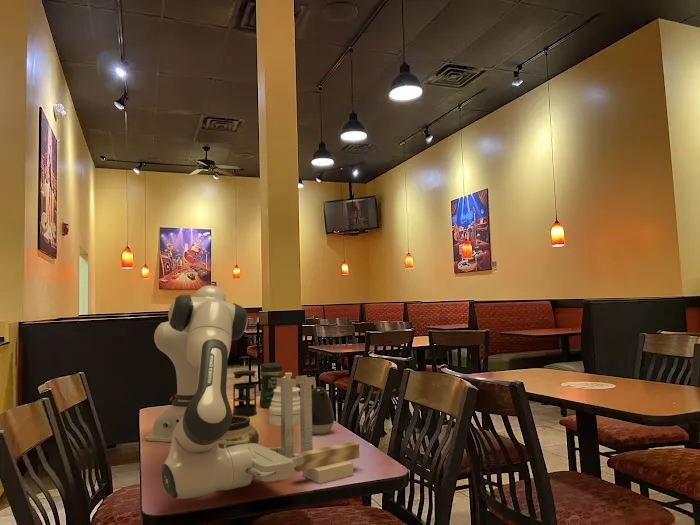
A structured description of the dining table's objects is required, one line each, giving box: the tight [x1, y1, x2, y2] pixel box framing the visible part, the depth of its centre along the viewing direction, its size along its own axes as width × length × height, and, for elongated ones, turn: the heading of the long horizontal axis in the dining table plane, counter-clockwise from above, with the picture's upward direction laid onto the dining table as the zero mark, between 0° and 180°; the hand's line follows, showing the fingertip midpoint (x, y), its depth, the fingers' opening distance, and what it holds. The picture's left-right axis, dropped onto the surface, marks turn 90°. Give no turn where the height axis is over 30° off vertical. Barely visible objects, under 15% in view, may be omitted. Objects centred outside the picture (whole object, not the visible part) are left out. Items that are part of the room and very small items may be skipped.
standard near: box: [277, 377, 297, 458], centre depth 141 cm, size 6×6×23 cm
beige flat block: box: [301, 460, 354, 485], centre depth 130 cm, size 10×8×3 cm
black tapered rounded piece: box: [311, 386, 335, 435], centre depth 174 cm, size 10×10×15 cm
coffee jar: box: [259, 362, 283, 409], centre depth 223 cm, size 10×8×19 cm
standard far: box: [295, 374, 316, 452], centre depth 144 cm, size 6×6×23 cm
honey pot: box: [268, 372, 300, 427], centre depth 193 cm, size 13×13×18 cm
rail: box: [292, 441, 360, 472], centre depth 130 cm, size 18×3×4 cm, turn 124°
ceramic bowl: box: [218, 414, 260, 449], centre depth 137 cm, size 24×18×15 cm
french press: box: [232, 355, 257, 418], centre depth 208 cm, size 12×9×23 cm
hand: (292, 454), depth 124 cm, fingers open, 8 cm apart
